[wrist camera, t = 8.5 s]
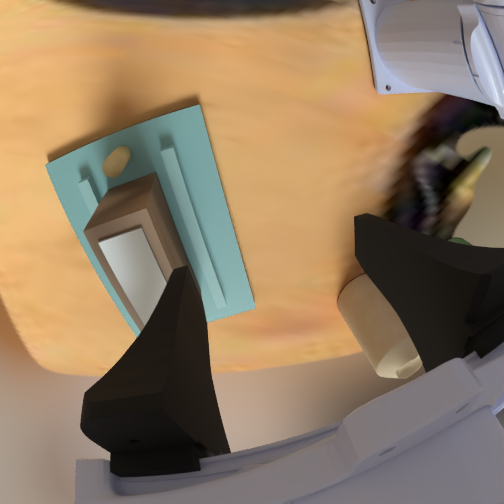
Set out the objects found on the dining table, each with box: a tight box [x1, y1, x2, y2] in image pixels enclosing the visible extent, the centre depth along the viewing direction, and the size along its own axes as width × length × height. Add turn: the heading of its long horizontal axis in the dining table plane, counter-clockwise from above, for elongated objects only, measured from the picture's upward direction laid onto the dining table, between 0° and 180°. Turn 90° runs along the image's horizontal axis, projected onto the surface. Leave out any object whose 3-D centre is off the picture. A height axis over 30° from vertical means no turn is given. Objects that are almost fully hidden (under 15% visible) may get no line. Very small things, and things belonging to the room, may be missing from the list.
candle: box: [338, 274, 422, 378], centre depth 25 cm, size 6×6×10 cm
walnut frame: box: [83, 172, 202, 331], centre depth 18 cm, size 4×10×6 cm, turn 12°
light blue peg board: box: [45, 104, 256, 337], centre depth 20 cm, size 11×17×4 cm, turn 12°
